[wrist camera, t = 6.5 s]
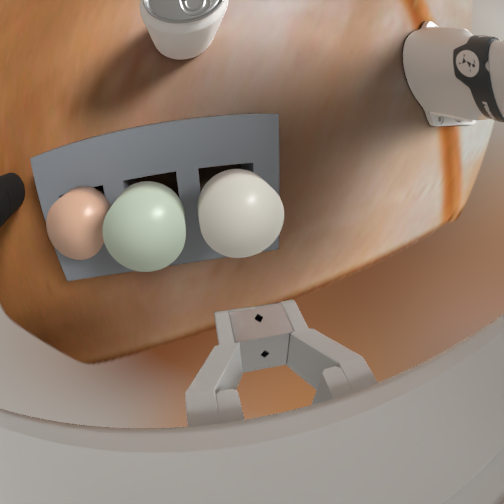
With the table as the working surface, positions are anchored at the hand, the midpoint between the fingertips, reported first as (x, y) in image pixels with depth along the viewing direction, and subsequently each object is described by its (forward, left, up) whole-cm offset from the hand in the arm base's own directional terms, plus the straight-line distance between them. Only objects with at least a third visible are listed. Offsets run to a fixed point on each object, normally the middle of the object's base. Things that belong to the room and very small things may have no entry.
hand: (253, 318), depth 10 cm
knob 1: (+12, 0, -22) cm, 25 cm away
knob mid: (+5, 0, -18) cm, 19 cm away
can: (+1, -17, -23) cm, 28 cm away
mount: (+5, 0, -23) cm, 23 cm away
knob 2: (-2, 0, -18) cm, 18 cm away
